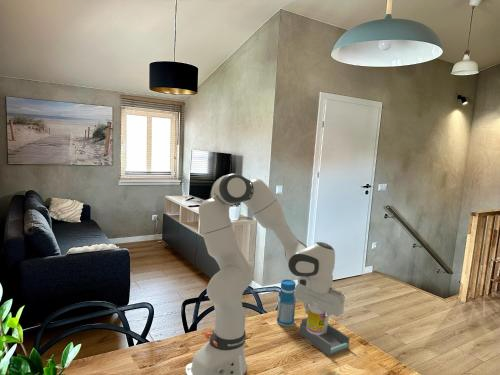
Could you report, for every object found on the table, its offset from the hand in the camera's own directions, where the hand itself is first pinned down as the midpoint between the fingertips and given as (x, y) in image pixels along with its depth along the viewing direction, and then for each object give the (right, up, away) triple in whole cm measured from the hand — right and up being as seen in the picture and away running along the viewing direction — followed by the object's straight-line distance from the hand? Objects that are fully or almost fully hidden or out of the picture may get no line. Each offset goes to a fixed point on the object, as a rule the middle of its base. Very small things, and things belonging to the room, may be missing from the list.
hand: (316, 317), depth 133 cm
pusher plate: (+4, -13, +16) cm, 21 cm away
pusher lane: (+5, -15, +13) cm, 21 cm away
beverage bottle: (-9, -13, +27) cm, 31 cm away
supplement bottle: (-1, -6, +1) cm, 6 cm away
